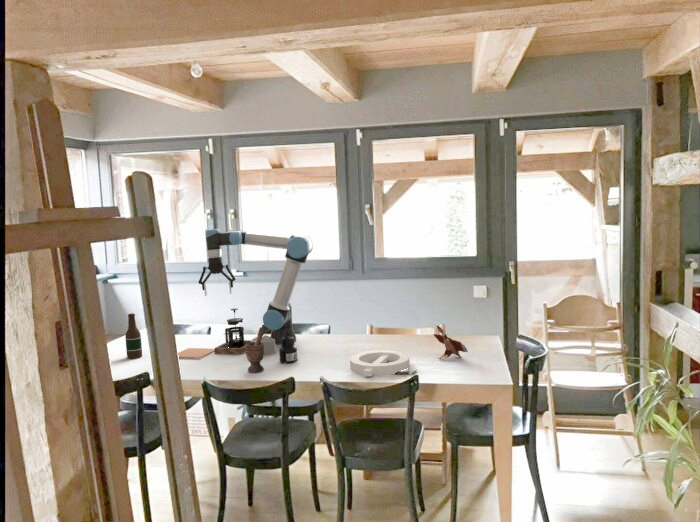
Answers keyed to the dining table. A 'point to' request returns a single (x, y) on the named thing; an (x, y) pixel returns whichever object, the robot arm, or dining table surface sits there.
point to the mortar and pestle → (255, 353)
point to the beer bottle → (133, 339)
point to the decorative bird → (449, 344)
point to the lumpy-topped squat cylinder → (267, 344)
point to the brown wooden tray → (226, 350)
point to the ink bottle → (288, 350)
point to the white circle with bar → (379, 362)
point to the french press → (231, 331)
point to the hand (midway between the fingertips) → (218, 294)
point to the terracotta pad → (195, 353)
